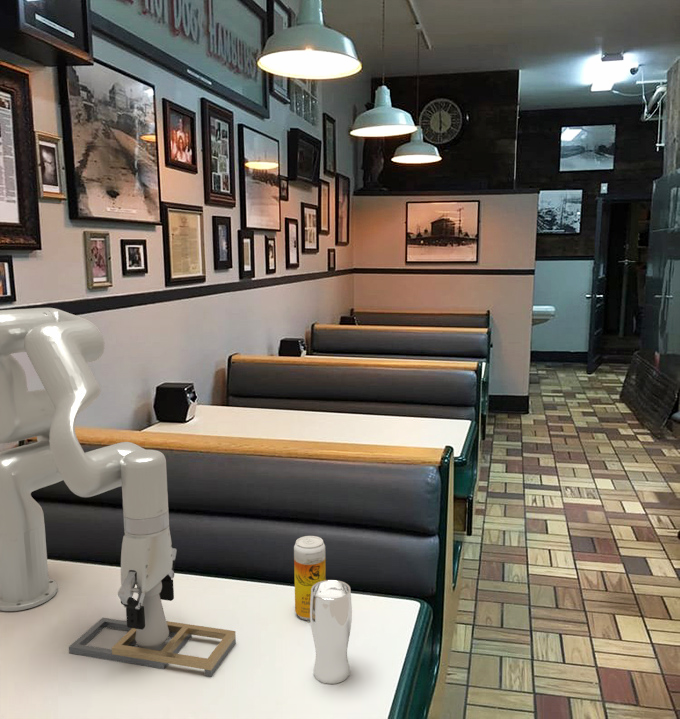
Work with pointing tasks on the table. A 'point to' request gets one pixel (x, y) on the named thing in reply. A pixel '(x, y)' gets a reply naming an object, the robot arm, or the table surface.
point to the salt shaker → (153, 621)
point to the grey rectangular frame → (103, 653)
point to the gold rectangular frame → (167, 652)
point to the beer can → (307, 571)
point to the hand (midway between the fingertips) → (151, 612)
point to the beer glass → (331, 629)
